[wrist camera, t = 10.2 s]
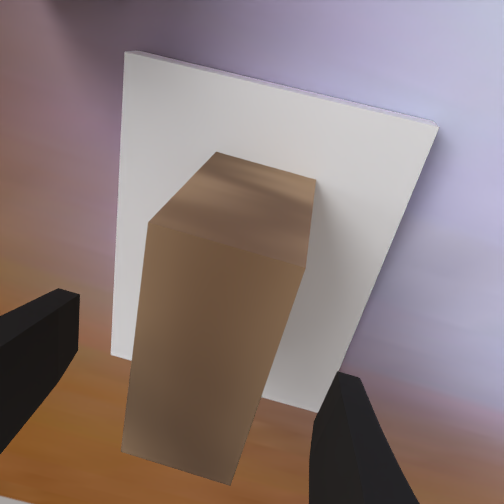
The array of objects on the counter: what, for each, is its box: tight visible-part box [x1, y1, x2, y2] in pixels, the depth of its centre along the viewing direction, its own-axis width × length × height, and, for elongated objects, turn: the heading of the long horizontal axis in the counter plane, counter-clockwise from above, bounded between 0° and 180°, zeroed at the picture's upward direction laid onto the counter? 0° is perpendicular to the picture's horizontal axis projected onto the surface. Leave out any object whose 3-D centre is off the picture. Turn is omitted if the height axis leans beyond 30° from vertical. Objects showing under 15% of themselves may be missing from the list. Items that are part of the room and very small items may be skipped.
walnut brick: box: [121, 152, 316, 486], centre depth 14 cm, size 4×8×6 cm, turn 167°
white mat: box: [111, 50, 439, 413], centre depth 17 cm, size 10×13×1 cm
